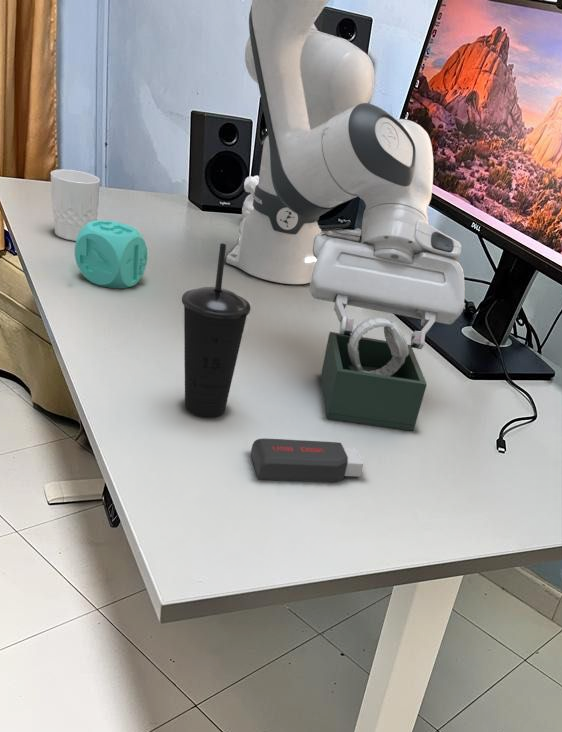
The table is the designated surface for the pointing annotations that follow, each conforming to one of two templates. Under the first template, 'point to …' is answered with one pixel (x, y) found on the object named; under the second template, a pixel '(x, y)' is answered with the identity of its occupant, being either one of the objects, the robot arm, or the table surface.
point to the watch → (394, 342)
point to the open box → (371, 385)
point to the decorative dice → (111, 254)
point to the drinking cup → (211, 344)
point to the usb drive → (304, 460)
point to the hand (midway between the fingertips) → (381, 340)
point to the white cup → (73, 201)
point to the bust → (249, 187)
